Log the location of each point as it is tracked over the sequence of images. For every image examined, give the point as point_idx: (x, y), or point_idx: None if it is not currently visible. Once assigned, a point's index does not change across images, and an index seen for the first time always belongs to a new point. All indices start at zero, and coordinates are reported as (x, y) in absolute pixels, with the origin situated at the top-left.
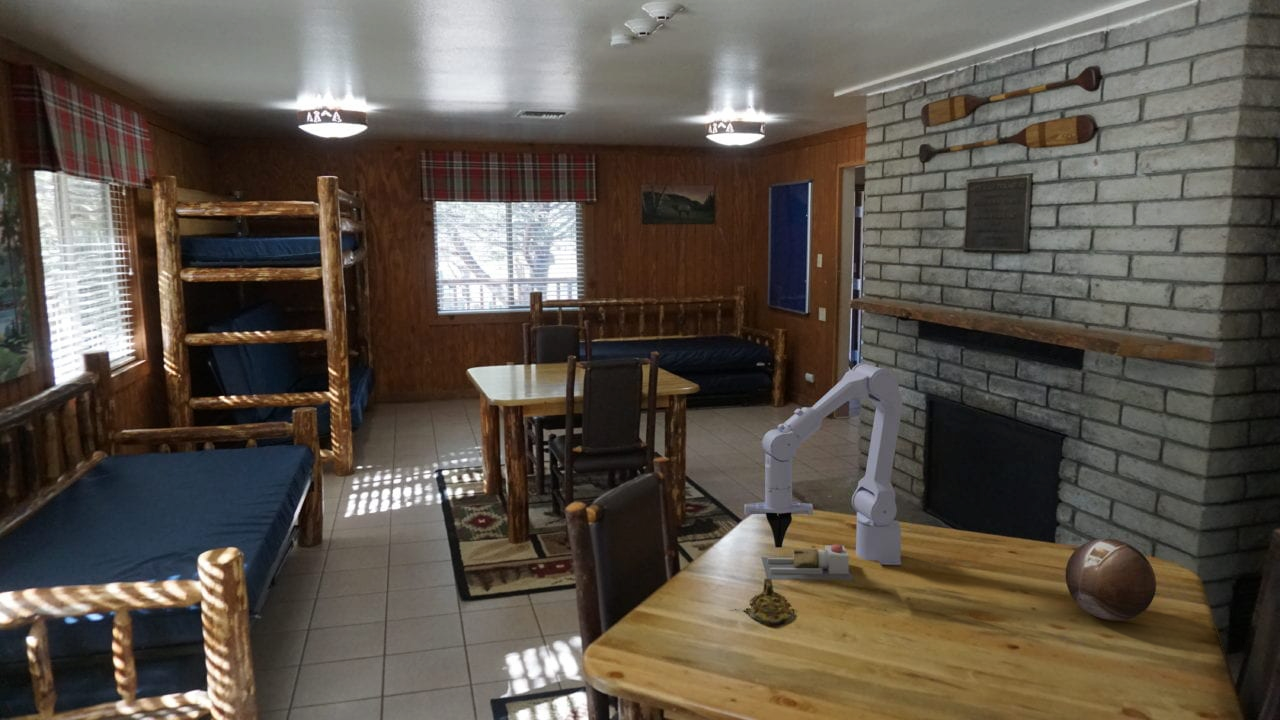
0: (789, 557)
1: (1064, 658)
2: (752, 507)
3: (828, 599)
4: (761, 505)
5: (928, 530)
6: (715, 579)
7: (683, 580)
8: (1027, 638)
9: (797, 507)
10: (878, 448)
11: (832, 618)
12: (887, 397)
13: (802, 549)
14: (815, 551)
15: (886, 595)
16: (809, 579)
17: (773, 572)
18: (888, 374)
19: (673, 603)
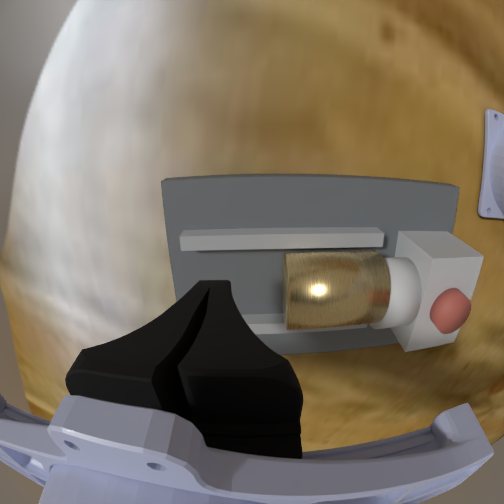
0: (279, 177)
1: (483, 430)
2: (20, 471)
3: (329, 400)
4: (46, 481)
5: None
6: (63, 316)
7: (16, 316)
8: (490, 413)
9: (359, 501)
10: None
11: (310, 443)
12: None
13: (328, 309)
14: (376, 317)
15: (444, 365)
16: (312, 352)
17: None
18: None
19: (47, 392)
